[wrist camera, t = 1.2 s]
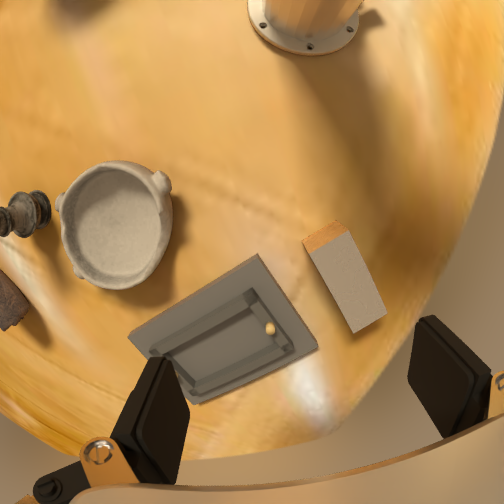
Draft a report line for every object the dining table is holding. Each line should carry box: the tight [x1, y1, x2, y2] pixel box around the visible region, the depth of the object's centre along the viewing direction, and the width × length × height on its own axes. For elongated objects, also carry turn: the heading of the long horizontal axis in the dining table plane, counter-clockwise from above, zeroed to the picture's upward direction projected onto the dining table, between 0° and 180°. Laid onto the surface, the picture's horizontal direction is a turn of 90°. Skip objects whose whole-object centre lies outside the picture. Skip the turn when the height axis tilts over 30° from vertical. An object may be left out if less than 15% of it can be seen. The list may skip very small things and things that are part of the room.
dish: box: [55, 161, 173, 290], centre depth 30 cm, size 14×14×5 cm
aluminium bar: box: [302, 220, 387, 334], centre depth 32 cm, size 4×11×5 cm, turn 32°
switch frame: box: [127, 254, 318, 405], centre depth 35 cm, size 20×14×4 cm
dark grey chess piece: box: [0, 190, 51, 238], centre depth 26 cm, size 6×6×12 cm
